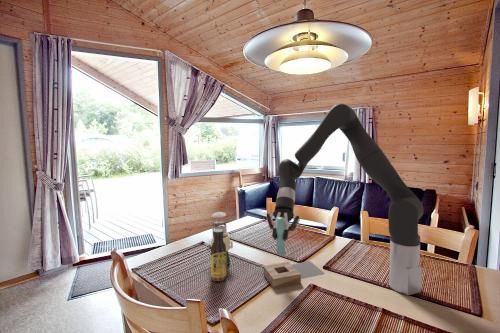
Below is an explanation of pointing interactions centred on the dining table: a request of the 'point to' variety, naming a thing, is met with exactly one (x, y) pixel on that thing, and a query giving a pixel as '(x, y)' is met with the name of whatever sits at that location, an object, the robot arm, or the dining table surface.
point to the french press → (218, 222)
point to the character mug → (227, 242)
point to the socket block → (282, 275)
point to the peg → (280, 235)
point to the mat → (307, 269)
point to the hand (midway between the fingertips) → (279, 239)
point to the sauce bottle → (218, 257)
